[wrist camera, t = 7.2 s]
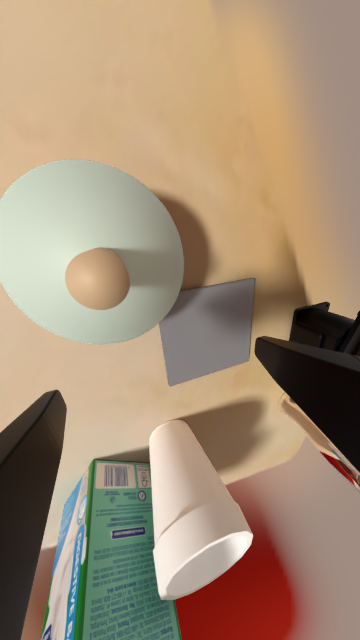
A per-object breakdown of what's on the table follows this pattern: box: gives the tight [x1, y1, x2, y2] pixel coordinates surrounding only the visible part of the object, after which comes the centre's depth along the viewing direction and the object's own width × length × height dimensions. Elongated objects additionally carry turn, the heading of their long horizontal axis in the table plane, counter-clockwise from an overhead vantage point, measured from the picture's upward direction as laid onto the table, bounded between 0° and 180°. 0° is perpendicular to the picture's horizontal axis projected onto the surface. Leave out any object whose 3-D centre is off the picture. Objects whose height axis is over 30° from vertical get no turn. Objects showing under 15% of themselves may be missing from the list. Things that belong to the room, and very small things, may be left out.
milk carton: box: [41, 460, 182, 640], centre depth 17 cm, size 9×9×25 cm
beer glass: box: [278, 392, 360, 493], centre depth 29 cm, size 7×7×15 cm
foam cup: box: [149, 420, 253, 600], centre depth 22 cm, size 10×9×13 cm
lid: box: [0, 159, 184, 345], centre depth 11 cm, size 12×12×6 cm
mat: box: [159, 278, 255, 386], centre depth 23 cm, size 12×12×1 cm
